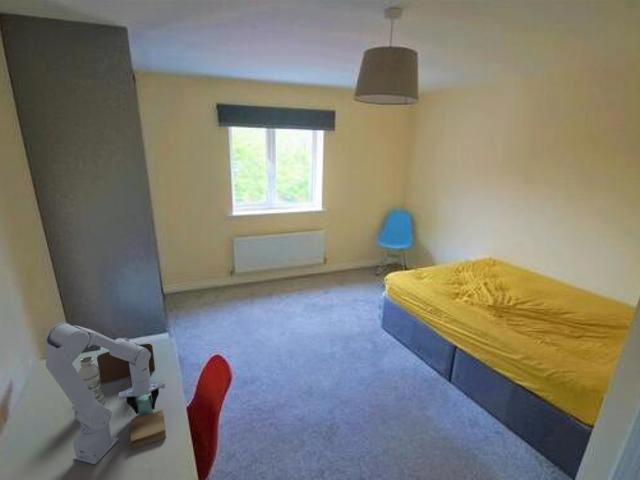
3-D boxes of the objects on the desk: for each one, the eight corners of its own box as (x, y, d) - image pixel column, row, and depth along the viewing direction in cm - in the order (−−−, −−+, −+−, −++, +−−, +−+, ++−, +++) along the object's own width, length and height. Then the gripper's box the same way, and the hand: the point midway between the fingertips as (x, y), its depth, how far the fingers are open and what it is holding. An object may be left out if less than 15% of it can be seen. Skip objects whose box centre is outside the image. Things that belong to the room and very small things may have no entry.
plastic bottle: (96, 414, 121) (86, 366, 116) (80, 411, 122) (70, 363, 117) (110, 402, 127) (102, 355, 122) (95, 399, 128) (86, 353, 123)
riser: (166, 437, 112) (165, 430, 111) (131, 449, 108) (130, 441, 107) (163, 416, 121) (163, 409, 120) (132, 426, 116) (131, 419, 115)
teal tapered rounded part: (146, 419, 120) (144, 405, 118) (135, 416, 121) (133, 402, 119) (156, 409, 124) (154, 395, 122) (144, 407, 125) (142, 393, 124)
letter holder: (155, 371, 145) (151, 342, 142) (101, 385, 136) (95, 354, 132) (154, 358, 154) (150, 331, 150) (103, 371, 145) (97, 342, 141)
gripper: (162, 365, 125) (166, 396, 129) (117, 376, 118) (122, 408, 122) (163, 376, 119) (167, 408, 123) (116, 389, 112) (122, 422, 116)
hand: (145, 409), depth 122 cm, fingers closed on teal tapered rounded part, 5 cm apart
